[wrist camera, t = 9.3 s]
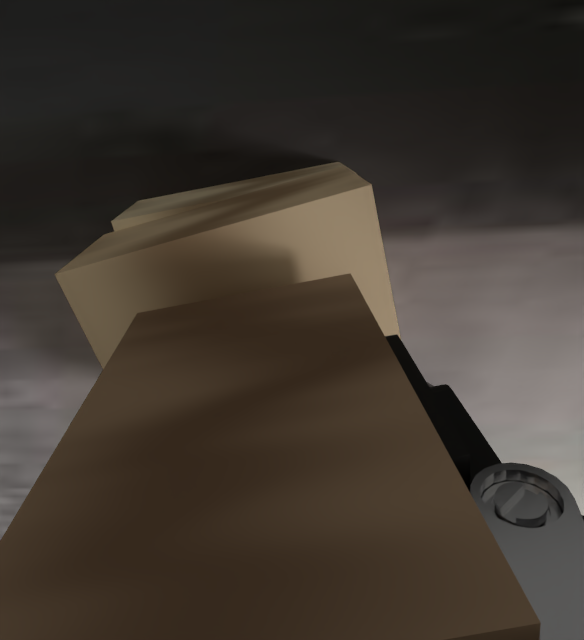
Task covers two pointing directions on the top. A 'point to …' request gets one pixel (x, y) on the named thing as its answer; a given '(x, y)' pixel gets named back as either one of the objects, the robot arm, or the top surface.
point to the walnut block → (256, 491)
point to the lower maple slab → (206, 196)
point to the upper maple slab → (233, 254)
